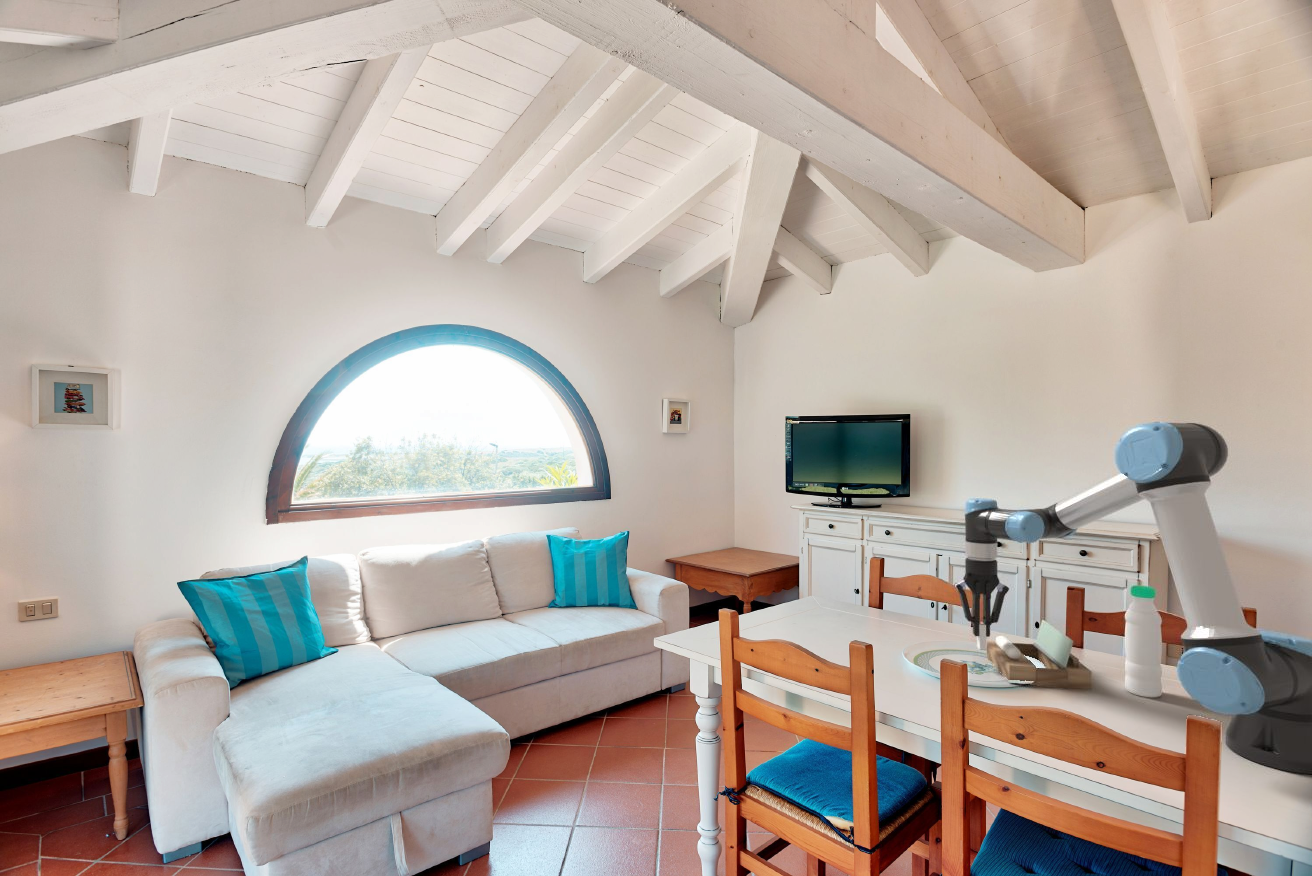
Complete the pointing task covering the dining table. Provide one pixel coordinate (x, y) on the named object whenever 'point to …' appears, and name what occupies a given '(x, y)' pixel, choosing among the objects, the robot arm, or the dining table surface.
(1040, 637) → the cover
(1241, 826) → the dining table surface
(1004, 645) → the white rounded cylinder
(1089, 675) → the wooden tray
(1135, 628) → the water bottle
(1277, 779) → the dining table surface
